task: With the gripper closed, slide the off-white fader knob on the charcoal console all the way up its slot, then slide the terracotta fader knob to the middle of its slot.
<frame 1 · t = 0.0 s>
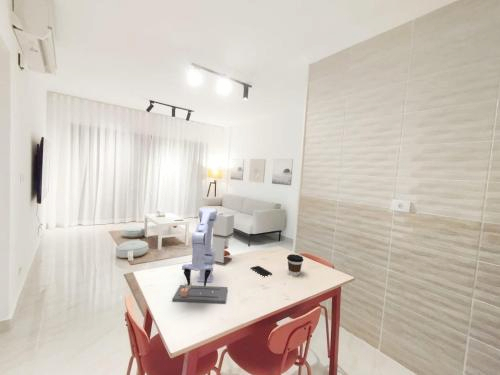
hand: (196, 284, 109), 10 cm above the table, tool pointing down, fingers open, 7 cm apart
fader white: (188, 284, 122), point 3 cm above the table, slide at 0.0 cm
fader terracotta: (184, 292, 114), point 3 cm above the table, slide at 0.0 cm
coffee cup: (294, 274, 152), on the table
console: (201, 295, 119), on the table
phone: (261, 272, 153), on the table
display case: (221, 262, 166), on the table
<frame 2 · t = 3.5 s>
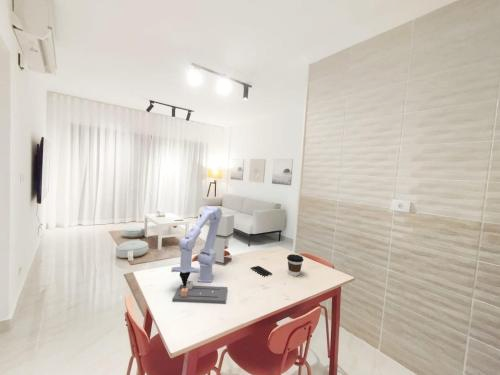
hand: (184, 285, 122), 3 cm above the table, tool pointing down, fingers closed
fader white: (189, 284, 122), point 3 cm above the table, slide at 0.7 cm, touching gripper
everything else where it was.
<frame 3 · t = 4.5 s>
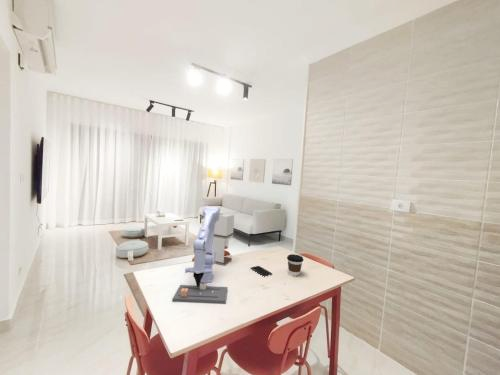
hand: (198, 285, 122), 3 cm above the table, tool pointing down, fingers closed
fader white: (203, 285, 123), point 3 cm above the table, slide at 8.0 cm, touching gripper
everything else where it was.
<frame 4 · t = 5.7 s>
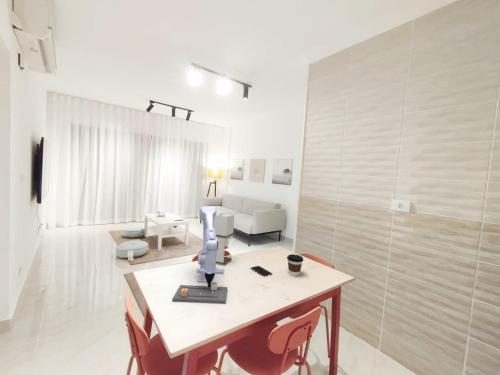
hand: (209, 286, 123), 3 cm above the table, tool pointing down, fingers closed
fader white: (214, 286, 123), point 3 cm above the table, slide at 14.0 cm, touching gripper
everything else where it was.
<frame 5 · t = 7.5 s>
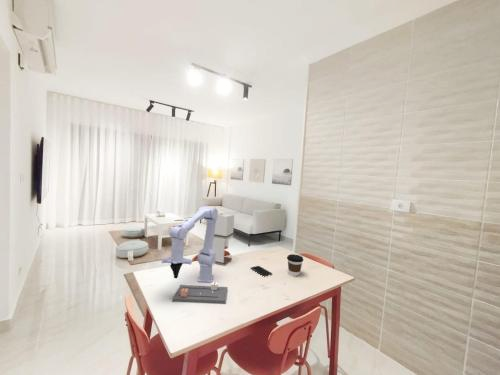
hand: (176, 277, 114), 11 cm above the table, tool pointing down, fingers closed
fader white: (214, 286, 123), point 3 cm above the table, slide at 14.1 cm
everything else where it was.
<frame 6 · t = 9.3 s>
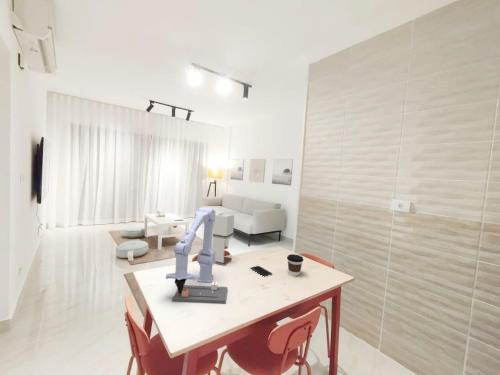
hand: (180, 292, 114), 3 cm above the table, tool pointing down, fingers closed
fader terracotta: (185, 292, 114), point 3 cm above the table, slide at 0.5 cm, touching gripper
everything else where it was.
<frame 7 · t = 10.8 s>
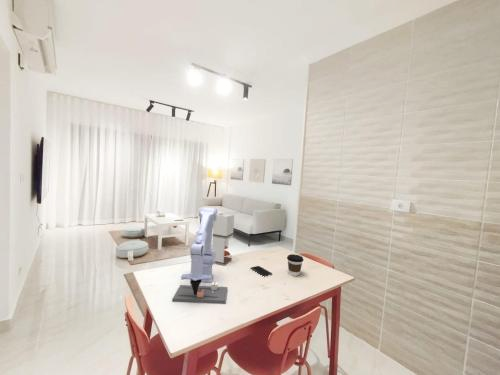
hand: (195, 293, 114), 3 cm above the table, tool pointing down, fingers closed
fader terracotta: (200, 293, 115), point 3 cm above the table, slide at 8.1 cm, touching gripper
everything else where it was.
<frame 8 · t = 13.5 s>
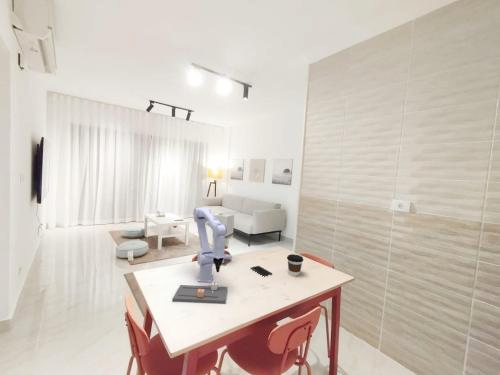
hand: (217, 271, 125), 10 cm above the table, tool pointing down, fingers closed
fader terracotta: (200, 293, 115), point 3 cm above the table, slide at 8.2 cm
everything else where it was.
at the end: fader white slide at 14.1 cm; fader terracotta slide at 8.2 cm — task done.
